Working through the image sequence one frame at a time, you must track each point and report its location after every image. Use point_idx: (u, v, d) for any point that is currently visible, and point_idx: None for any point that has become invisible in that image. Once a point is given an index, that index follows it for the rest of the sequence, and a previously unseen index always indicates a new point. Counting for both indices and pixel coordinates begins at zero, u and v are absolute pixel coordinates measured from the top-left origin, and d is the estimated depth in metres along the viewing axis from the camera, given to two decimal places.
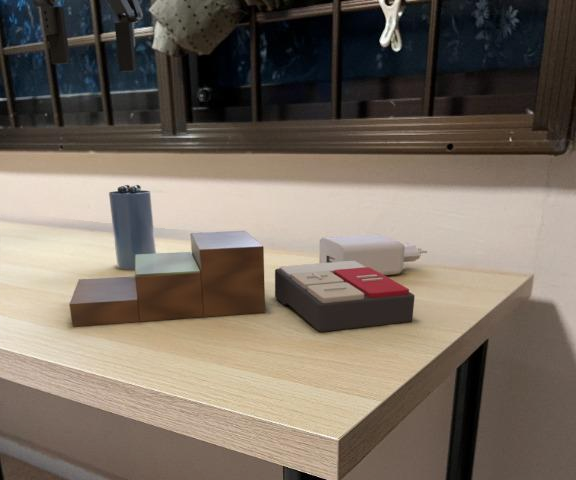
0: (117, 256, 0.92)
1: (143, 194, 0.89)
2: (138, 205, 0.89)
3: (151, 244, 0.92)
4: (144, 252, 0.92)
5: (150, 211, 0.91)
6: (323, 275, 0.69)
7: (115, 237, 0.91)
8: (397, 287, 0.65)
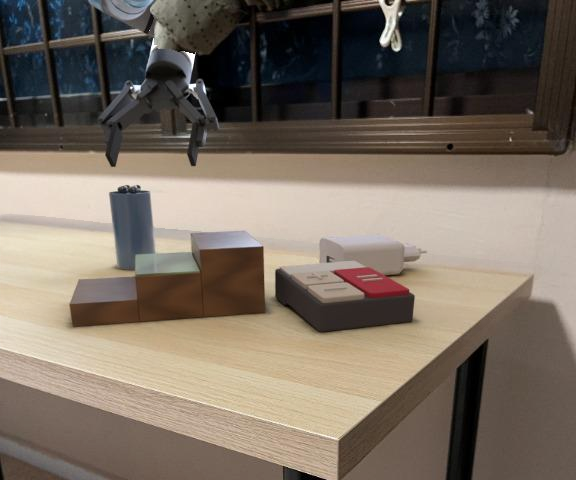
0: (117, 256, 0.92)
1: (143, 194, 0.89)
2: (138, 205, 0.89)
3: (151, 244, 0.92)
4: (144, 252, 0.92)
5: (150, 211, 0.91)
6: (323, 275, 0.69)
7: (115, 237, 0.91)
8: (397, 287, 0.65)
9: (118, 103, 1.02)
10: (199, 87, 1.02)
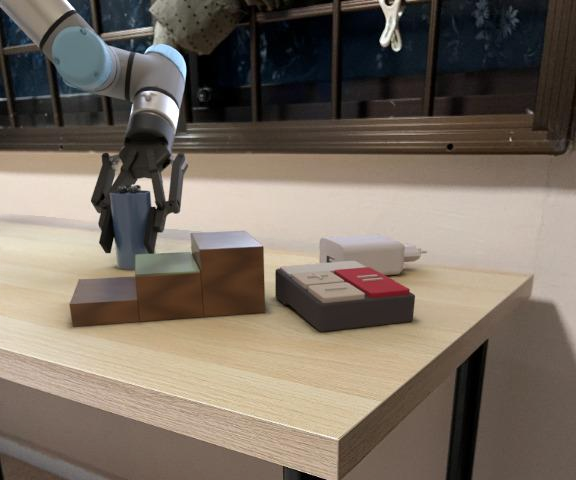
0: (117, 256, 0.92)
1: (143, 194, 0.89)
2: (138, 205, 0.89)
3: None
4: (144, 252, 0.92)
5: None
6: (323, 275, 0.69)
7: (115, 237, 0.91)
8: (398, 287, 0.65)
9: (105, 178, 0.94)
10: (177, 161, 0.94)
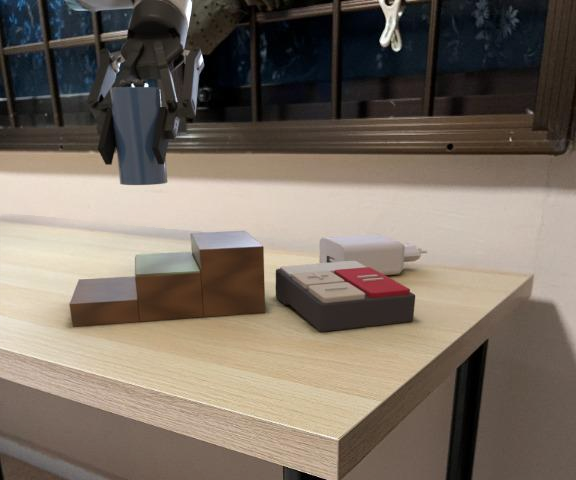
0: (120, 169, 0.76)
1: (151, 89, 0.73)
2: (145, 102, 0.73)
3: None
4: (153, 163, 0.75)
5: None
6: (324, 275, 0.69)
7: (117, 144, 0.75)
8: (398, 287, 0.65)
9: (104, 77, 0.78)
10: (191, 56, 0.78)
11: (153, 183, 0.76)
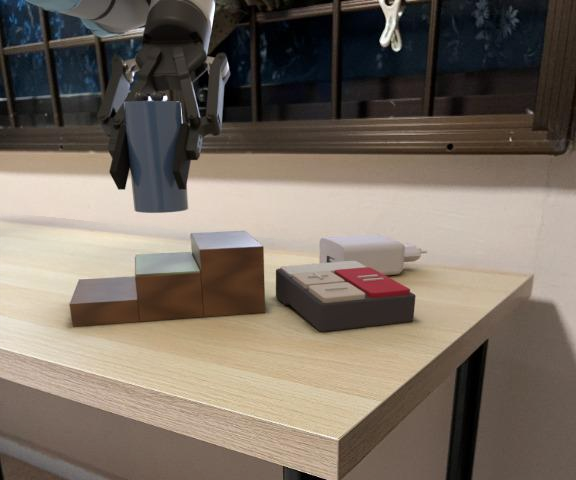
0: (134, 194, 0.66)
1: (172, 103, 0.63)
2: (164, 118, 0.63)
3: None
4: (172, 188, 0.65)
5: None
6: (324, 275, 0.69)
7: (132, 166, 0.65)
8: (398, 287, 0.65)
9: (116, 88, 0.68)
10: (216, 64, 0.68)
11: (173, 210, 0.66)
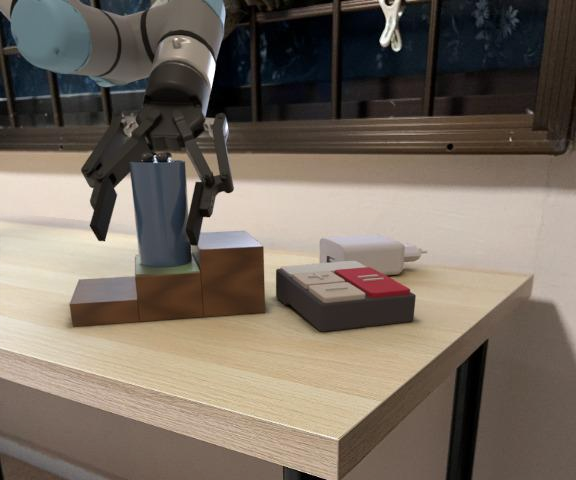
0: (140, 249, 0.68)
1: (176, 163, 0.65)
2: (169, 179, 0.65)
3: (186, 233, 0.68)
4: (176, 243, 0.68)
5: (185, 187, 0.67)
6: (324, 275, 0.69)
7: (137, 223, 0.67)
8: (398, 287, 0.65)
9: (108, 144, 0.70)
10: (217, 125, 0.70)
11: (177, 265, 0.68)
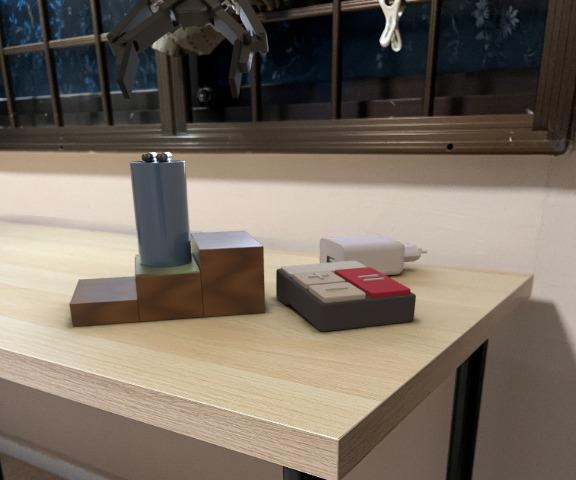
0: (140, 249, 0.68)
1: (176, 163, 0.65)
2: (169, 179, 0.65)
3: (186, 233, 0.68)
4: (176, 243, 0.68)
5: (185, 187, 0.67)
6: (324, 275, 0.69)
7: (137, 223, 0.67)
8: (398, 287, 0.65)
9: (134, 16, 0.77)
10: None
11: (177, 265, 0.68)
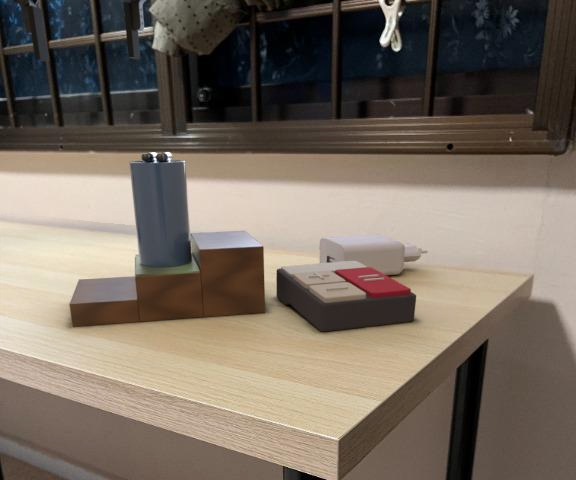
0: (140, 249, 0.68)
1: (176, 163, 0.65)
2: (169, 179, 0.65)
3: (186, 233, 0.68)
4: (176, 243, 0.68)
5: (185, 187, 0.67)
6: (325, 275, 0.69)
7: (137, 223, 0.67)
8: (399, 287, 0.65)
9: None
10: None
11: (177, 265, 0.68)
